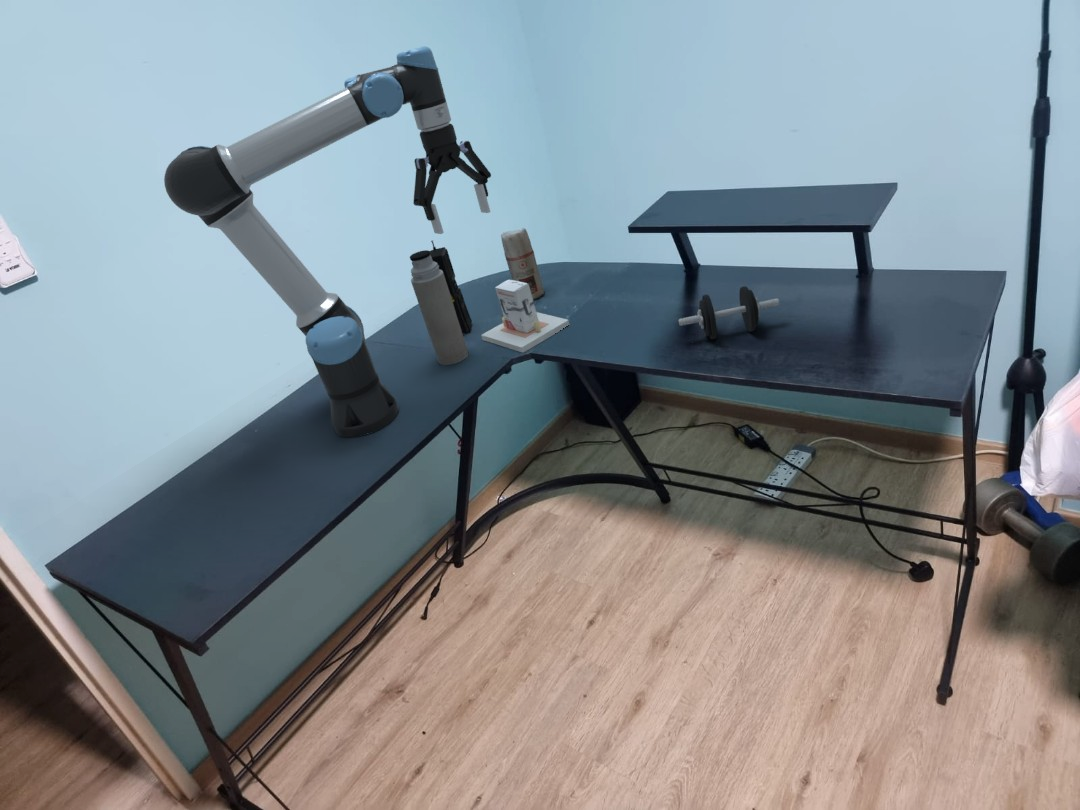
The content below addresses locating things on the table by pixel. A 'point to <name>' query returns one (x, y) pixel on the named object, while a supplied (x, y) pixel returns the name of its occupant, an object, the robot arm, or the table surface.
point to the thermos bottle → (437, 309)
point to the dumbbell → (729, 312)
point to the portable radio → (452, 287)
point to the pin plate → (525, 340)
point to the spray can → (522, 260)
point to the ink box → (517, 305)
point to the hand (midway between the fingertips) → (463, 222)
